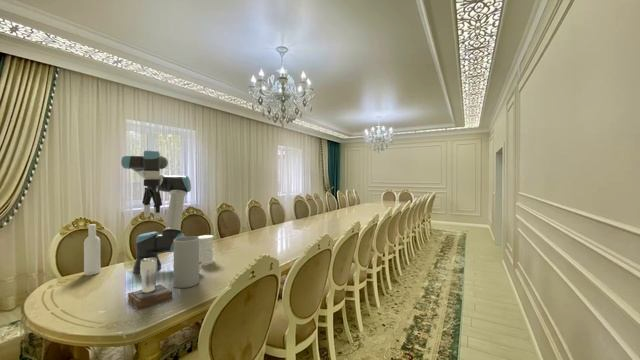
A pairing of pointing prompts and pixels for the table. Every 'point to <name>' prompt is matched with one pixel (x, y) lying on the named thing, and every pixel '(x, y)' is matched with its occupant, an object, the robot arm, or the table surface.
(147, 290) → the beer glass
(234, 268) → the table surface
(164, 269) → the table surface
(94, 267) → the bottle
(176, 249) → the cylinder vase
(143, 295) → the walnut stand
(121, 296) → the table surface
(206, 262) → the decorative container
